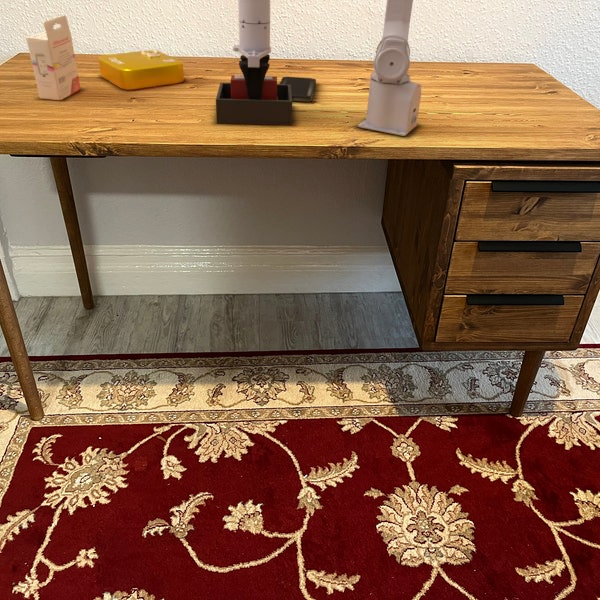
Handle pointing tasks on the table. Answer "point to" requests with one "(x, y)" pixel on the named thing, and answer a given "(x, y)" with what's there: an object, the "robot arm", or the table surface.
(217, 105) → the bin
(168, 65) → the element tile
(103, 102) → the table surface
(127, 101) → the table surface
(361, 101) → the table surface
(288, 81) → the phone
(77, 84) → the ink cartridge box
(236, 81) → the red and black box
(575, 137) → the table surface
